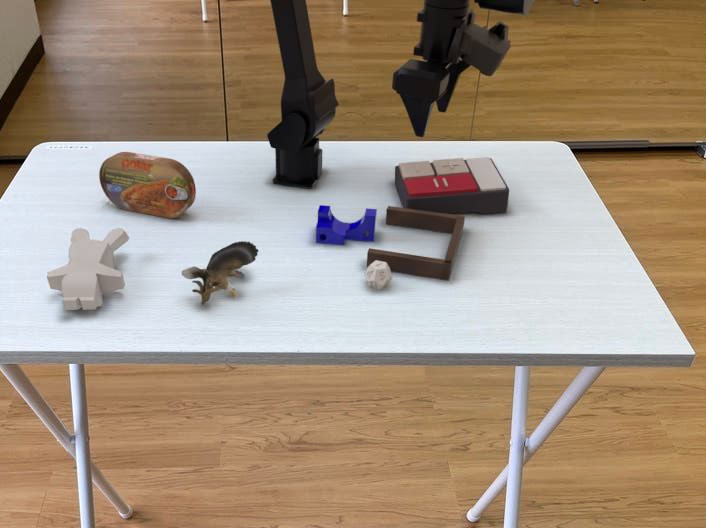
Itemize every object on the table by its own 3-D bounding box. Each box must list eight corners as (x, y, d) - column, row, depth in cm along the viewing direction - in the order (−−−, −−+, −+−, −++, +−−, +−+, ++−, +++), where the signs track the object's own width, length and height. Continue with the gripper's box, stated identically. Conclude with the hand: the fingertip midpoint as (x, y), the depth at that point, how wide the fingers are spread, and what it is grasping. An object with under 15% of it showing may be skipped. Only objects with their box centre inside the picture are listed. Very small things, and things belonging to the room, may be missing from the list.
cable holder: (315, 242, 109) (316, 217, 106) (319, 230, 111) (319, 205, 109) (372, 247, 108) (374, 221, 105) (375, 234, 110) (376, 209, 107)
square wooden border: (366, 267, 104) (367, 251, 102) (386, 221, 113) (388, 205, 111) (448, 280, 101) (451, 264, 99) (462, 231, 110) (465, 216, 109)
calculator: (394, 160, 119) (491, 152, 119) (393, 186, 122) (488, 178, 122) (406, 194, 111) (511, 185, 111) (405, 221, 114) (507, 212, 114)
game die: (397, 286, 100) (399, 266, 98) (374, 295, 99) (375, 275, 97) (380, 274, 103) (382, 254, 101) (357, 282, 101) (359, 263, 99)
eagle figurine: (241, 310, 95) (272, 262, 100) (204, 266, 91) (238, 219, 96) (201, 321, 100) (233, 275, 105) (166, 280, 97) (200, 235, 102)
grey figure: (35, 290, 94) (61, 215, 104) (46, 321, 97) (70, 246, 107) (113, 290, 93) (132, 215, 103) (121, 321, 97) (138, 246, 107)
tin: (103, 205, 118) (93, 153, 112) (114, 196, 120) (104, 144, 114) (191, 223, 113) (185, 169, 108) (201, 213, 115) (196, 160, 110)
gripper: (488, 34, 88) (467, 163, 98) (529, -9, 100) (506, 110, 111) (396, 19, 92) (385, 145, 102) (447, -20, 104) (432, 96, 114)
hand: (431, 123), depth 107 cm, fingers open, 9 cm apart
